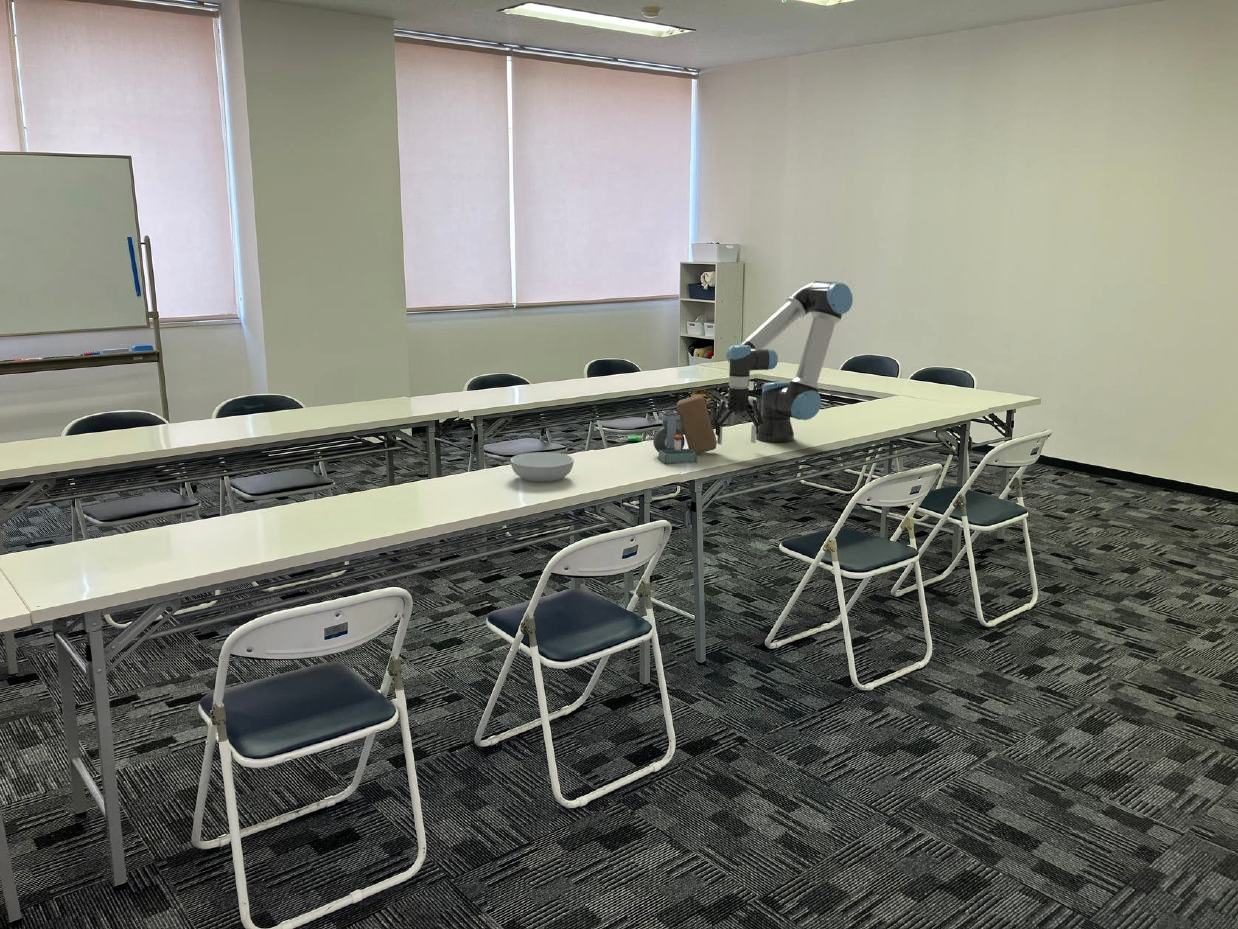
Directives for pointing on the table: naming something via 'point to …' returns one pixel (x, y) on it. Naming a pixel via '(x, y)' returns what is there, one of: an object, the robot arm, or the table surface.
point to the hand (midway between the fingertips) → (736, 443)
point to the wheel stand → (667, 431)
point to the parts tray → (677, 456)
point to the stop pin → (677, 443)
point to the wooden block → (696, 424)
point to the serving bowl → (542, 466)
